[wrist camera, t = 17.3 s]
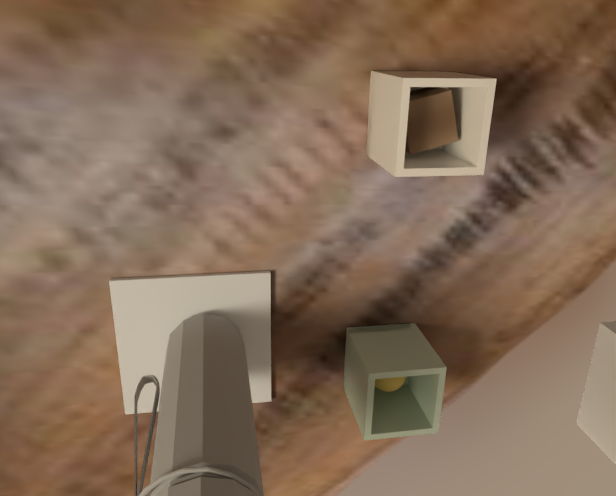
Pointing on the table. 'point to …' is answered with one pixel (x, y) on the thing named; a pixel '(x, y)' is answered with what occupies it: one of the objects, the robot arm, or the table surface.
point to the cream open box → (394, 116)
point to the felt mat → (182, 305)
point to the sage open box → (389, 364)
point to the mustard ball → (389, 383)
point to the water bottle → (202, 415)
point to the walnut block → (430, 119)
